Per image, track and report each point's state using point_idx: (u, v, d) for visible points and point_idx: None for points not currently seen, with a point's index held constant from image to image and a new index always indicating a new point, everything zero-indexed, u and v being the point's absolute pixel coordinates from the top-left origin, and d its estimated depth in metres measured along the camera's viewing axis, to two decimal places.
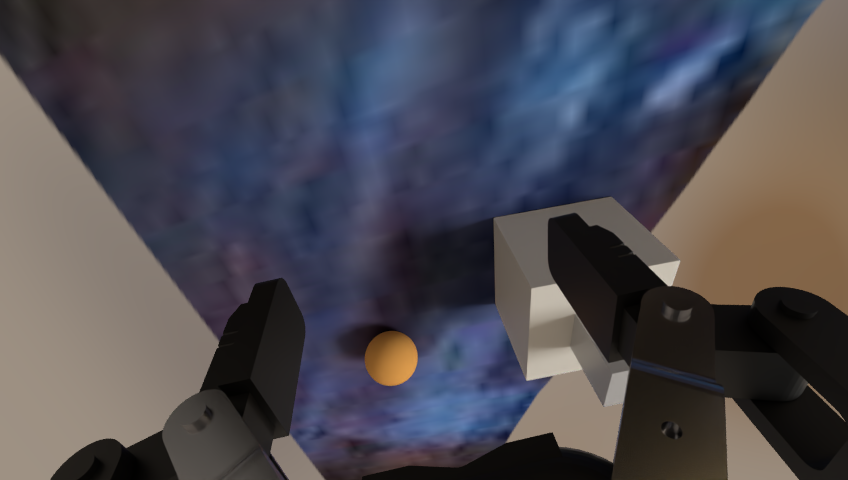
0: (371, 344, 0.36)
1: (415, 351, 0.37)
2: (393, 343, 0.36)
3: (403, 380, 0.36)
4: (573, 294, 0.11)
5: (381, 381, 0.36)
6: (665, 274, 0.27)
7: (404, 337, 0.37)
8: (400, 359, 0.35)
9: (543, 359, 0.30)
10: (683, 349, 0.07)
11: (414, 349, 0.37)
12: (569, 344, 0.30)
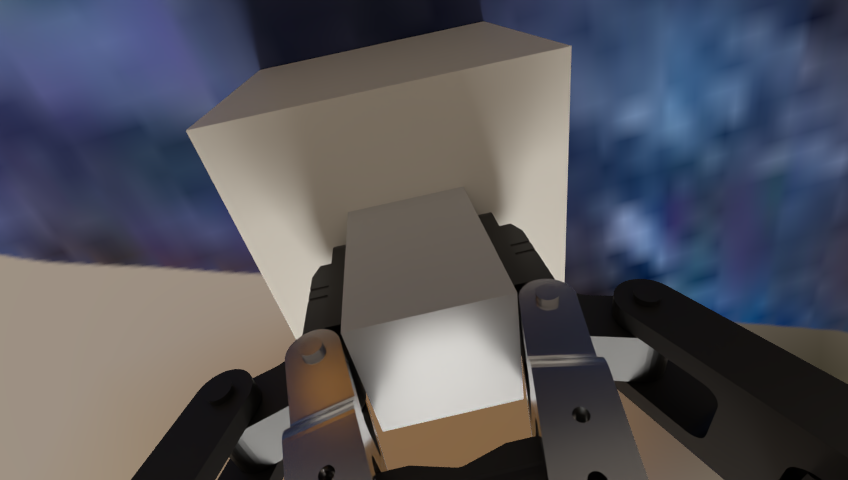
0: None
1: None
2: None
3: None
4: None
5: None
6: None
7: None
8: None
9: (293, 156, 0.11)
10: (564, 334, 0.08)
11: None
12: (356, 208, 0.12)
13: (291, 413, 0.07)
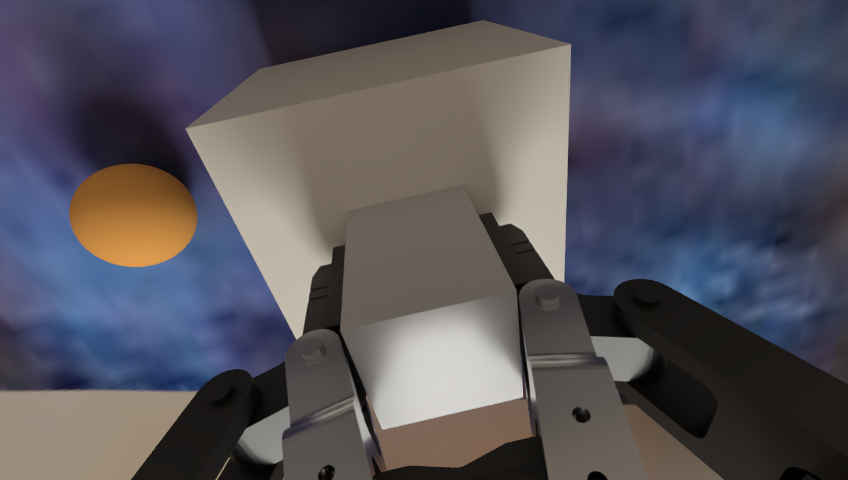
0: None
1: None
2: None
3: (195, 218, 0.20)
4: None
5: (177, 181, 0.19)
6: None
7: None
8: None
9: (293, 155, 0.11)
10: (564, 333, 0.08)
11: None
12: (356, 206, 0.12)
13: (291, 413, 0.07)
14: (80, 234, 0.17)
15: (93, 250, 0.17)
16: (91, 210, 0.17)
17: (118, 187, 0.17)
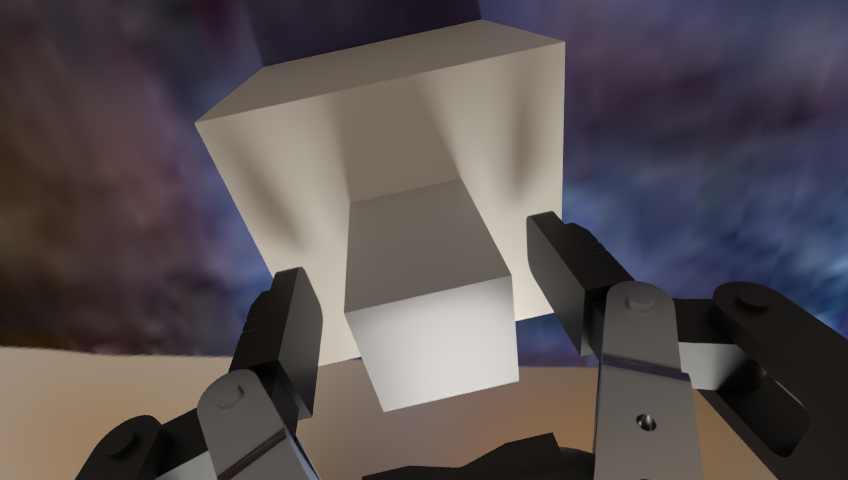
0: None
1: None
2: None
3: None
4: (549, 290, 0.11)
5: None
6: (533, 303, 0.16)
7: None
8: None
9: (297, 149, 0.11)
10: (649, 342, 0.07)
11: None
12: (357, 199, 0.12)
13: (216, 465, 0.07)
14: None
15: None
16: None
17: None
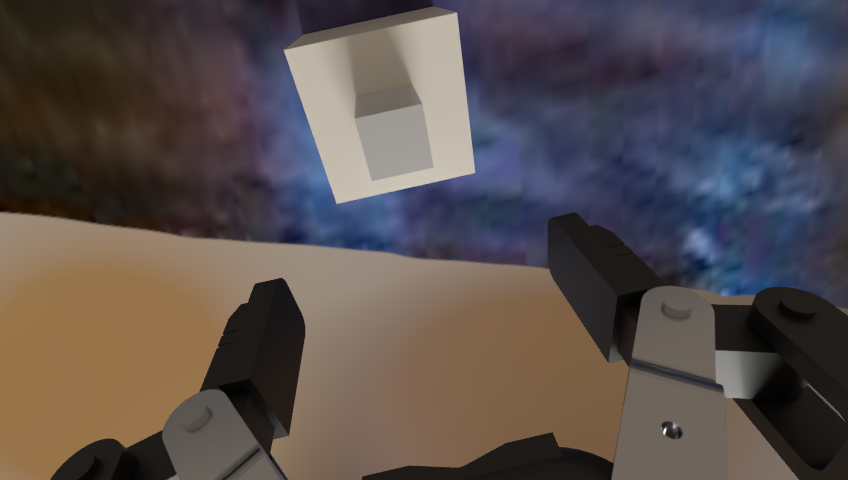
0: None
1: None
2: None
3: None
4: (573, 294, 0.11)
5: None
6: (459, 166, 0.28)
7: None
8: None
9: (330, 65, 0.23)
10: (684, 350, 0.07)
11: None
12: (359, 94, 0.24)
13: None
14: None
15: None
16: None
17: None
